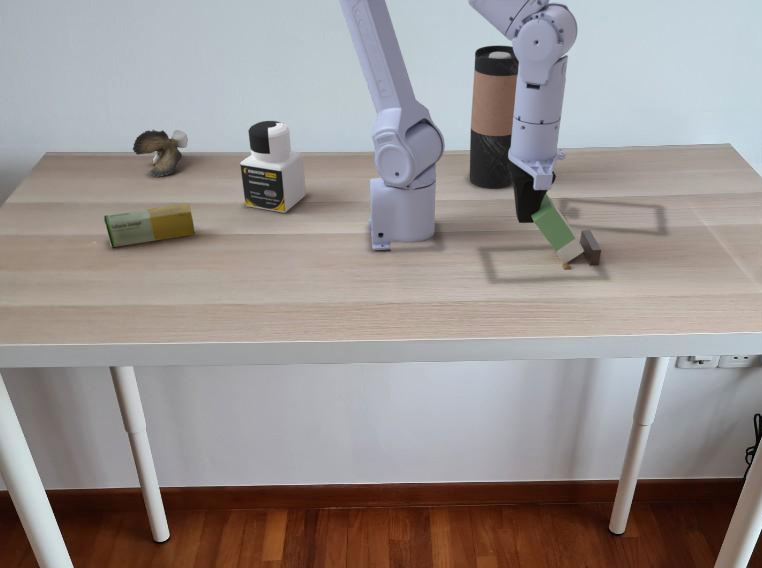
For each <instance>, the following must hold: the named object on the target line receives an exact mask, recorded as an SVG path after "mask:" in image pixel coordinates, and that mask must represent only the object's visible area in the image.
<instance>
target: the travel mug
mask: <svg viewBox="0 0 762 568" xmlns="http://www.w3.org/2000/svg"><path fill="white" fill-rule="evenodd" d="M518 67H519V61H518V59H517V58H516V56H515V54H514V51H513V46H510V45H487V46H482V47H479V48H477V49H476V50H475V52H474V68H473V69H474V70H473V71H474V72H473V86H472V100H471V117H470V136H469V137H470V138H469V139H470V141H469V142H470V143H469V150H470V151H469V181H470V183H471V184H473V185H475V186H476V187H479V188H484V189H502V188H505V187H508V186H510V185H511V184H513V183H512V179H511V176H510V173H509V170H508V168H507V165H508V164H509V163H513V162H511V161H510V160H509V158H508V152H509V149H510V147H511V138H512V127H513V116H514V106H515V95H516V84H517V76H518Z"/></svg>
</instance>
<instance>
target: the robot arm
mask: <svg viewBox="0 0 762 568" xmlns="http://www.w3.org/2000/svg"><path fill="white" fill-rule="evenodd" d="M338 2H339V4H340V8H341V11H342V14H343V17H344V19H345V23H346V25H347V26H346V27H347V28H348V32H349V35H350V38H351V42H352V44H353V47H354V51H355V53H356V56H357V59H358V62H359V65H360V68H361V71H362V73H363V77H364V80H365V82H366V86H367V89H368V92H369V94H370V98H371V101H372V104H373V107H374V109H375V112H376V117H375V121H374V125H373V128H372V132H371V139H372V142H373V146H374V158H373V159H374V160H373V161H374V167H375V169H376V172H377V174H378V176H379V177H375V178H370V179H369V207H370V208H369V210H370V211H369V213H370V217H368V219H367V220H368V231H370V236H371V247H372V248H371V249H372V250H374V251H389V250H392V248H391V242H399V243H400V242H401V243H419V242H423V241H426V240H428V239H430V238H432V237H433V236H434V235H435V230H436V229H435V227H436V226H435V225H436V191H437V190H436V189H437V187H436V186H437V171H436V170H437V169H436V167H437V163H438V162H439V161H440V160H441V159H442V157H443V155H444V153H445V148H446V147H445V145H446V143H445V138H444V135H443V133H442V131H441V129H440V128H439V127H438V126H437V125H436V124H435V122H434V121H433V119H432V116H431V113H430V110H429V109H428V107H426V106H425V105H424V104H422V103H421V102H420V101H419V100H417V99H416V95H415V93H414V89H413V86H412V82H411V79H410V76H409V73H408V69H407V67H406V64H405V61H404V56H403V53H402V51H401V48H400V45H399V44H400V43H399V41H398V37H397V34H396V30H395V28H394V25H393V22H392V19H391V15H390V12H389V8H388V6H387V2H386V0H338ZM467 3H468V5H469V6H470V7H471V8H472V9H473V10H474V11H475V12H476V13H478V14H479V15H480V16H482V18H483V19H485V20H486V21H487V22H488V23H489V24H490V25H491V26H492V27H494V28H495V29H496V30H497V31H499V33H500V34H502V35H503V36H504V37H505V38H506V39H507V40H509V41H511V45H512V46H511V47H513V51H514V54H515V56H516V58H517V59H518V61H519V67H518V76H517V84H516V95H515V106H514V116H513V127H512V138H511V147H510V149H509V152H508V158H509V160H510V161H511V162H513V163H509V164H508V165H507V168H508V170H509V173H510V176H511V179H512V183H511V184H512V187H513V194H514V195H513V196H514V205H515V206H514V207H515V214H516V219H517V221H518V223H519V224H535V223H534V221H533V219H532V217H531V215H533V214H534V213H536V212H538V211H539V209H540V206H541V203H542V200H543V198H544V196H545V194H546V193H548V191H551V190H552V185H553V184H554V183H555V181H556V178H557V175H556V173H555V171H554V169H555V165H556V163H557V162H558V161H564V160H565V159H566V154H567V153H566V152H565V150H564V149H563V148H558V144H559V136H560V128H561V119H562V114H563V113H562V112H563V104H564V96H565V90H566V89H565V88H566V81H567V78H566V75H567V67H568V60H569V59H568V58H569V55H567V53H568V52H570V50H571V49H572V48H573V46H574V44H575V42H576V40H577V36H578V23H577V19H576V18H575V15H574V14H573V12H572V11H571V10H570V9H569V7H568V6H567V4H564V3H562V2H556V1H555V2H550V0H467Z"/></svg>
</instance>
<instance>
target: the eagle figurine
mask: <svg viewBox="0 0 762 568" xmlns="http://www.w3.org/2000/svg"><path fill="white" fill-rule="evenodd" d="M188 142H189V138H188V134H187V133H186V132H184V131H183V130H180V129H175V130H174V131H173V132H172V135H171V137H169V135H168V134H167V133H166V131H164V130H160V131H158V130H155V129H152V130H145V131H143V132H142V133H141V134H139V135H138V136H137V137H136V139H135V140H134V143H133V147H132V151H133V152H134V153H135V155H137V156H138V155H139V156H140V155H145V154H146V155H147V154H153V153H155V152H156V153H155V154H154V157H153V159H152V165H154V166H153V167H152V168H151V170H149V174H150V175H151V176H153V177H156V178H159V177H164V176H165V175H166V176H168V175H171V174H173V173H174V172H175V171H176V169H178V165H179V163H180V161H181V160H182V158H183V155H182V152H181V151H180V149H185V148H187V146H188Z"/></svg>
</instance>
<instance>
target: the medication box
mask: <svg viewBox="0 0 762 568" xmlns="http://www.w3.org/2000/svg"><path fill="white" fill-rule="evenodd" d="M103 221H104V225H105V230H106V234H107V238H108V241H109V245H110V247H111V249H113V248H115V247H121V246H127V245H128V246H129V245H136V244H140V243H147V242H154V241H161V240H167V239H174V238H179V237H186V236H192V235H196V234H197V232H196V230H195V224H194V219H193V213H192V208H191V206H190V204H189V203H182V204H181V203H180V204H176V205H175V204H174V205H169V206H161V207H153V208H147V209H140V210H135V211H129V212H122V213H114V214H107V215H104V216H103Z"/></svg>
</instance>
